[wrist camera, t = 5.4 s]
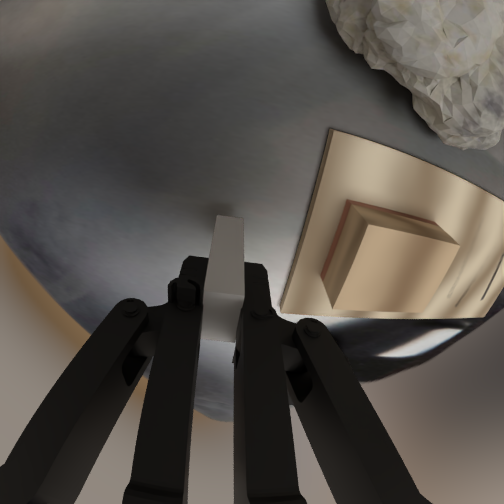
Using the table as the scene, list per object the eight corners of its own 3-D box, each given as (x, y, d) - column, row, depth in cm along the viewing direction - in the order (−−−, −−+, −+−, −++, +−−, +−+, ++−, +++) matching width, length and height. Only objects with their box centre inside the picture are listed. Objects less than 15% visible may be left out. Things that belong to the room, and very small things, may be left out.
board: (279, 306, 22) (280, 312, 21) (329, 128, 15) (334, 130, 14) (480, 312, 25) (483, 316, 25) (531, 219, 18) (535, 222, 17)
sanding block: (320, 275, 19) (332, 309, 17) (346, 199, 16) (368, 224, 13) (404, 284, 20) (422, 312, 17) (434, 221, 17) (460, 245, 14)
